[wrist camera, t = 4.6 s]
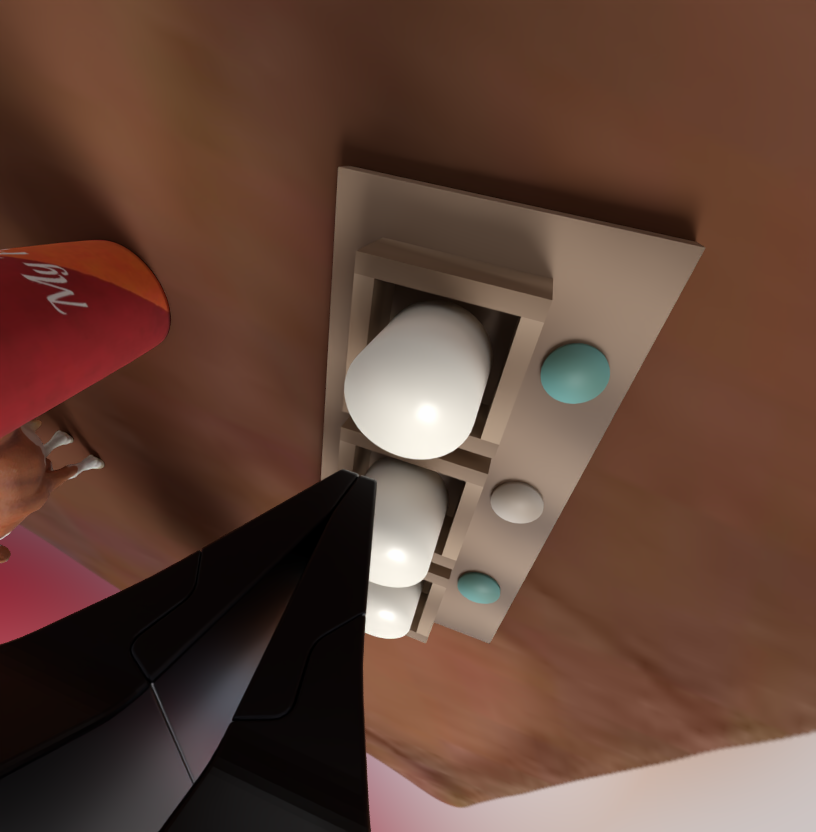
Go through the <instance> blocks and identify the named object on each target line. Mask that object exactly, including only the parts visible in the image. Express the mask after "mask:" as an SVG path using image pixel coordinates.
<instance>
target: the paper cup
mask: <svg viewBox="0 0 816 832" xmlns="http://www.w3.org/2000/svg"><path fill="white" fill-rule="evenodd" d="M170 322H171V316H170V309H169V304H168V301H167V298H166V295H165V293H164V291H163V289H162V287H161V285H160V283H159V281H158V280H157V278H156V277H155V275H154V274H153V272H152V271H151V270H150V269H149V267H148V266H147V265H146V264H145V263H144V262H143V261H142V260H141V259H140V258H139V257H138V256H137V255H135V254H134V253H133V252H131V251H130V250H129V249H127V248H125V247H124V246H122V245H120V244H117V243H115V242H112V241H107V240H85V241H74V242H64V243H54V244H45V245H37V246H28V247H19V248H10V249H1V250H0V438H2V437H3V436H5V435H7V434H9V433H10V432H12V431H14V430H15V429H17V428H19V427H21V426H22V425H24V424H26V423H27V422H29V421H31V420H33V419H34V418H36V417H38V416H40V415H41V414H43V413H45V412H46V411H48V410H50V409H52V408H53V407H55V406H57V405H58V404H60V403H62V402H64V401H65V400H67V399H69V398H70V397H72V396H74V395H76V394H77V393H79V392H81V391H82V390H84V389H86V388H87V387H89V386H91V385H93V384H94V383H96V382H98V381H99V380H101V379H103V378H105V377H106V376H108V375H110V374H111V373H113V372H115V371H116V370H118V369H120V368H121V367H123V366H125V365H126V364H128V363H130V362H132V361H133V360H135V359H136V358H138V357H140V356H141V355H143V354H145V353H146V352H148V351H149V350H151V349H152V348H154V347H155V346H157V345H158V344H160V343H161V342H162V341H163V340H164V339H165V338H166V336H167V334H168V332H169V329H170Z"/></svg>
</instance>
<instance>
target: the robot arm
mask: <svg viewBox="0 0 816 832" xmlns="http://www.w3.org/2000/svg"><path fill="white" fill-rule="evenodd" d="M376 491H377V481H376V480H375V479H372V478H369V477H366V476H363V475H361V476H359V475H358V474H357V473H354V472H351V471H348V470H345V469H341V470H339V471H337V472H335V473H334V474H332V475H330V476H328V477H327V478H325V479H323V480H321V481H320V482H318V483H316V484H314V485H313V486H311V487H309V488H307V489H305V490H304V491H302V492H300V493H298V494H297V495H295V496H293V497H291V498H290V499H288V500H286V501H284V502H283V503H281V504H279V505H277V506H276V507H274V508H272V509H270V510H269V511H267V512H265V513H263V514H262V515H260V516H258V517H256V518H255V519H253V520H251V521H249V522H248V523H246V524H244V525H242V526H241V527H239V528H237V529H235V530H234V531H232V532H230V533H228V534H227V535H225V536H223V537H221V538H220V539H218V540H216V541H214V542H212V543H211V544H209V545H207V546H205V547H204V548H202V552H201V551H200V550H199V551H196V552H195V553H193V554H191V555H189V556H188V557H186V558H184V559H182V560H181V561H179V562H177V563H175V564H173V565H171V566H170V567H168V568H166V569H164V570H162V571H160V572H158V573H157V574H155V575H153V576H151V577H149V578H147V579H145V580H143V581H141V582H139V583H137V584H135V585H133V586H131V587H128V588H126V589H124V590H122V591H120V592H118V593H116V594H114V595H112V596H110V597H108V598H105V599H103V600H101V601H99V602H97V603H95V604H92V605H90V606H88V607H86V608H84V609H82V610H80V611H78V612H75V613H73V614H71V615H69V616H67V617H65V618H63V619H60V620H58V621H56V622H54V623H52V624H50V625H47V626H45V627H43V628H41V629H39V630H37V631H34V632H32V633H30V634H27V635H25V636H23V637H20V638H17V639H15V640H12V641H9V642H7V643H4V644H0V832H371V828H370V816H369V801H368V782H367V760H366V740H365V719H364V696H363V655H364V635H365V624H366V609H367V598H368V586H369V574H370V562H371V550H372V539H373V527H374V515H375V503H376Z"/></svg>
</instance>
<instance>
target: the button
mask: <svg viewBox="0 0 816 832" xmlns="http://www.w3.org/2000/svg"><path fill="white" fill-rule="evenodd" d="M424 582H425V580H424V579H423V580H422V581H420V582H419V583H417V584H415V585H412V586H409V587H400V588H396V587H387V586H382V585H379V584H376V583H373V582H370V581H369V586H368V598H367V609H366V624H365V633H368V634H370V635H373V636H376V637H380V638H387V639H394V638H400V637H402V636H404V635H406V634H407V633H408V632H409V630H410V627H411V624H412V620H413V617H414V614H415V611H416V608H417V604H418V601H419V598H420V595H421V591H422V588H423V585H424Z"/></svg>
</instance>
